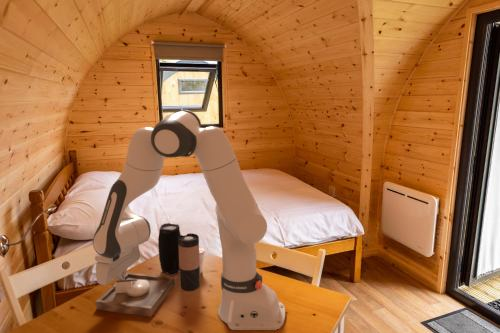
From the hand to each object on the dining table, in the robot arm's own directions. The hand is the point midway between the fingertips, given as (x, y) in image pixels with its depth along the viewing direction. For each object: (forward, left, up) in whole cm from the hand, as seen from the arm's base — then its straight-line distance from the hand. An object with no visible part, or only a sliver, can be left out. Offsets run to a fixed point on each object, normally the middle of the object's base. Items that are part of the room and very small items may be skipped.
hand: (121, 282), depth 123 cm
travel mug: (-22, -10, -5) cm, 25 cm away
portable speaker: (-10, -20, -5) cm, 23 cm away
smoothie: (-21, -21, -5) cm, 30 cm away
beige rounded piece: (-5, 0, -3) cm, 5 cm away
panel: (-6, 0, -5) cm, 8 cm away
